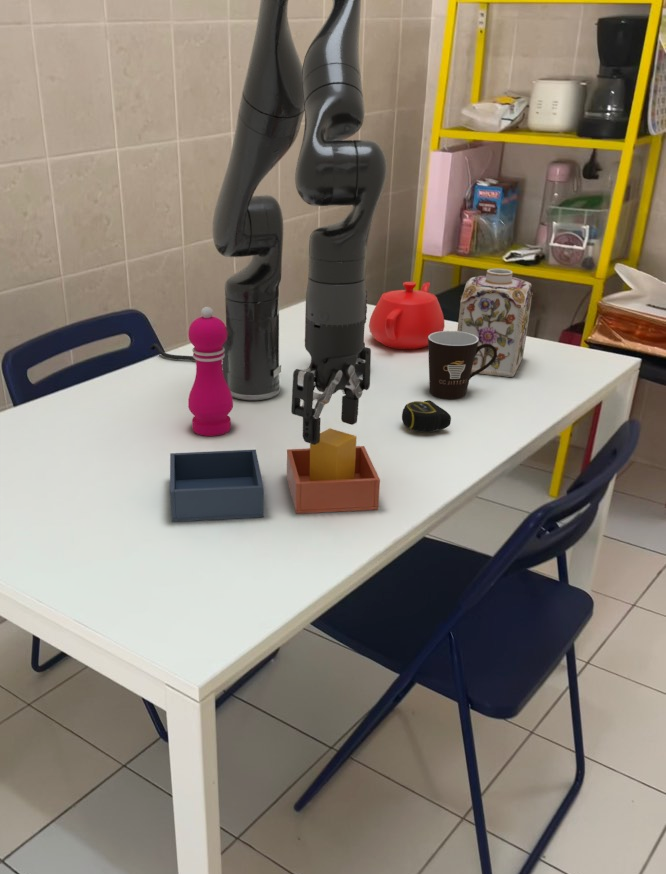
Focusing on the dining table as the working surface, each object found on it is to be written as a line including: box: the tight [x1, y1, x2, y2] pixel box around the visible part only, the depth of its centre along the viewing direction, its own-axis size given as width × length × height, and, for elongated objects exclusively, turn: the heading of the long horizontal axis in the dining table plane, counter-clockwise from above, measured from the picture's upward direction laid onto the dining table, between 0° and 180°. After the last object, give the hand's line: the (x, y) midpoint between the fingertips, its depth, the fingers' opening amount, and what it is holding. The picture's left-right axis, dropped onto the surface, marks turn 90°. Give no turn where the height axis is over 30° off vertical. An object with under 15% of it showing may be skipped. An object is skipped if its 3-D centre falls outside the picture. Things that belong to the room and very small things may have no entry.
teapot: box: [368, 281, 446, 350], centre depth 181 cm, size 25×16×12 cm, turn 153°
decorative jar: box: [456, 268, 534, 378], centre depth 165 cm, size 12×12×18 cm
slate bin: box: [169, 449, 265, 523], centre depth 121 cm, size 12×12×4 cm
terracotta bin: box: [286, 445, 381, 515], centre depth 122 cm, size 11×11×4 cm
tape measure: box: [401, 399, 452, 433], centre depth 142 cm, size 7×7×4 cm
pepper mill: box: [187, 306, 234, 437], centre depth 138 cm, size 7×7×20 cm
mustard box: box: [309, 427, 357, 481], centre depth 121 cm, size 4×4×8 cm
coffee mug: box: [427, 330, 497, 400], centre depth 154 cm, size 12×9×10 cm
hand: (330, 432), depth 118 cm, fingers open, 8 cm apart
